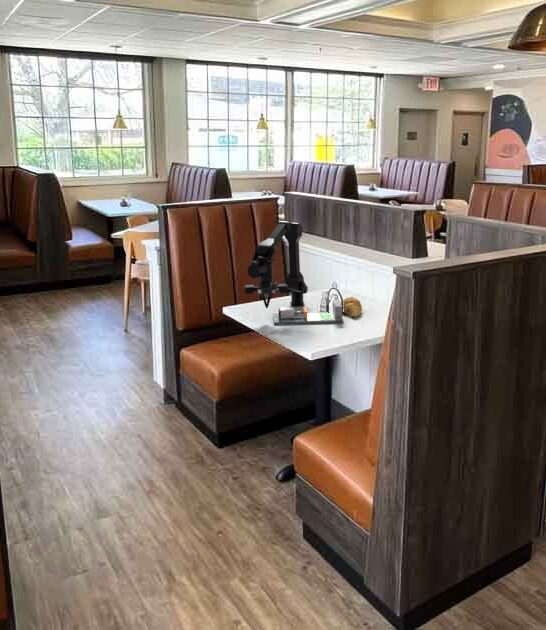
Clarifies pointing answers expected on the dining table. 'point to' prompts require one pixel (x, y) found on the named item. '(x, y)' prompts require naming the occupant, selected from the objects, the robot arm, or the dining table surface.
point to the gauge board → (314, 317)
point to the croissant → (352, 306)
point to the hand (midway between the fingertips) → (266, 307)
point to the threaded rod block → (288, 312)
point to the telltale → (305, 312)
